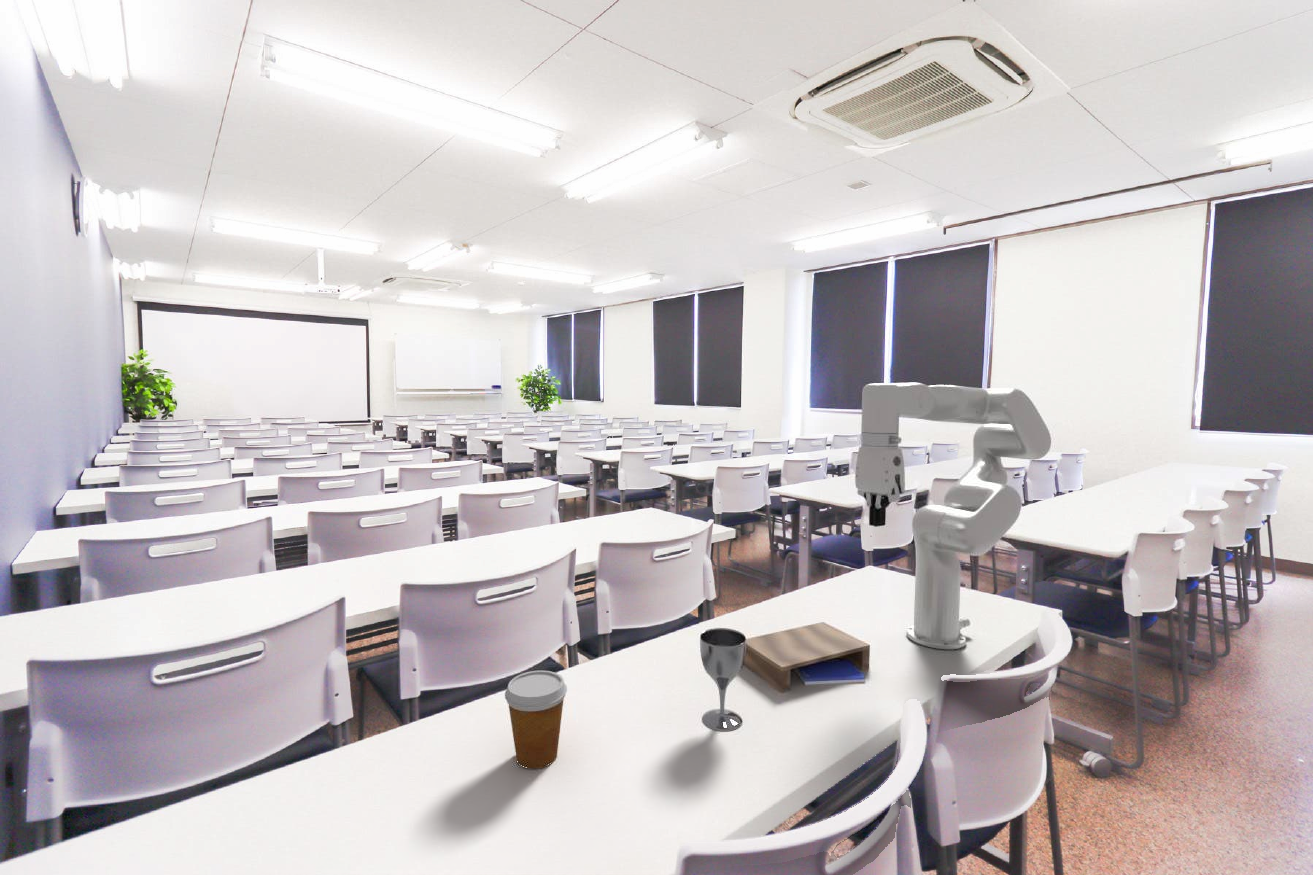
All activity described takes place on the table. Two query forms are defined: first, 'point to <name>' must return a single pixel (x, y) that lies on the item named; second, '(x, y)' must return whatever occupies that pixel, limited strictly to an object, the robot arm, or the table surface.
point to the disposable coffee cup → (536, 716)
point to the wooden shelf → (801, 651)
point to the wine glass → (722, 671)
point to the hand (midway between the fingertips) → (877, 525)
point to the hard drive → (830, 672)
